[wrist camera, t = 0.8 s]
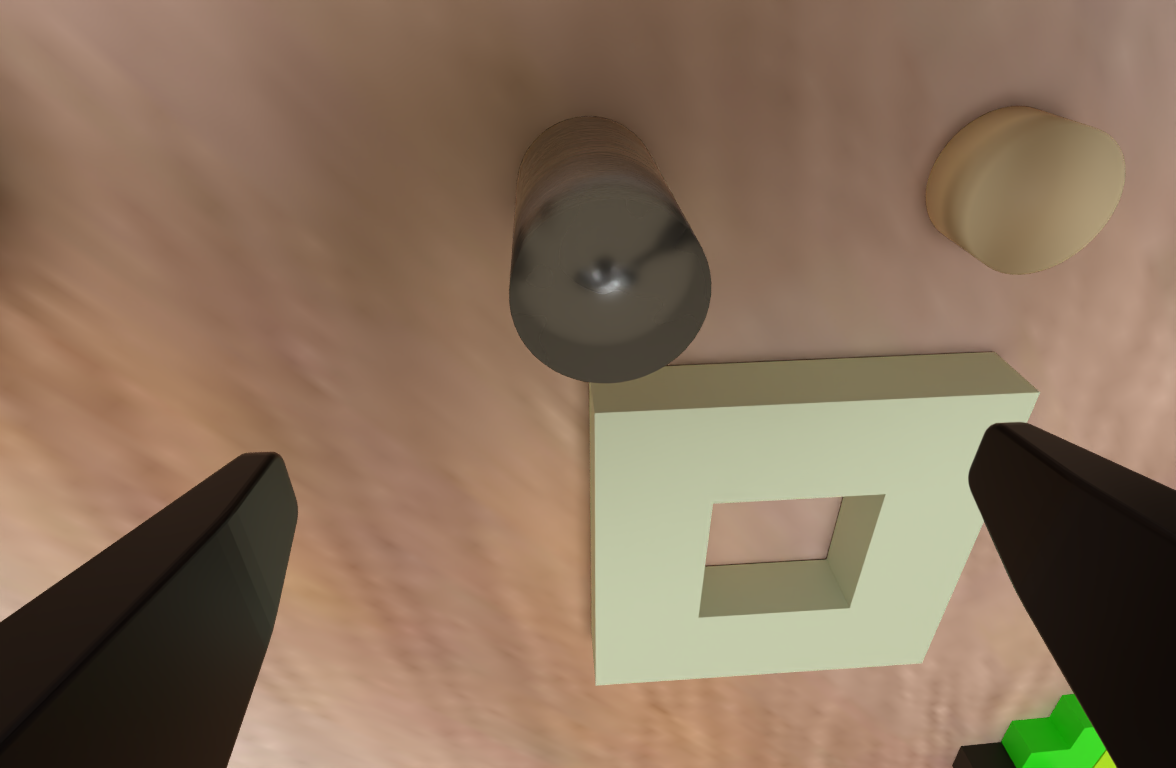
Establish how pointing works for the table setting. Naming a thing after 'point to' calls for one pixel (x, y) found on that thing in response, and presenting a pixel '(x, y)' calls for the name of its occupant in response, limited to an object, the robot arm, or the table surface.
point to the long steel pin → (602, 256)
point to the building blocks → (1043, 743)
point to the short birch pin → (1025, 188)
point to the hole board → (781, 472)
